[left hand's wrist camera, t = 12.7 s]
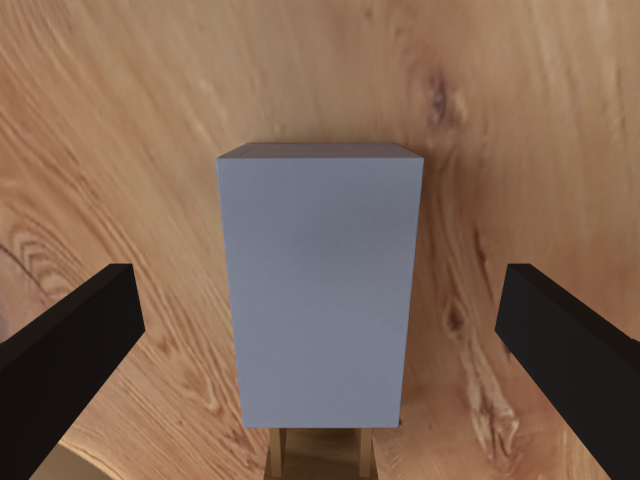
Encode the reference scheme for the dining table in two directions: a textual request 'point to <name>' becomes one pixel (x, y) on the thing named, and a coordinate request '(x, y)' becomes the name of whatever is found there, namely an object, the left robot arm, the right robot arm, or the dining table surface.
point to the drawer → (320, 454)
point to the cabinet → (320, 279)
